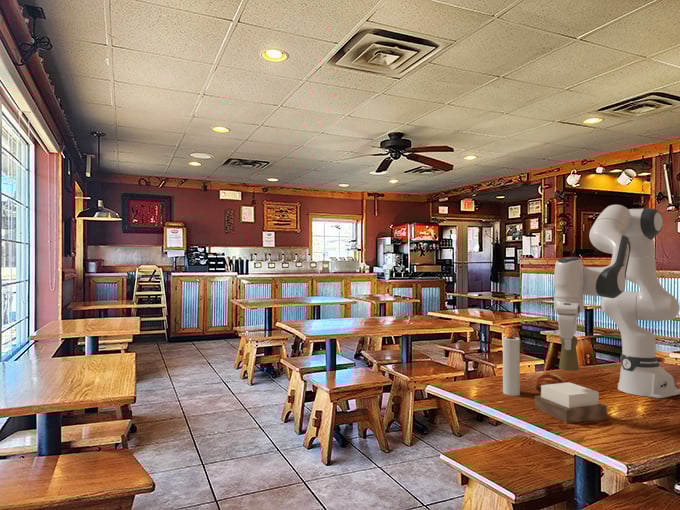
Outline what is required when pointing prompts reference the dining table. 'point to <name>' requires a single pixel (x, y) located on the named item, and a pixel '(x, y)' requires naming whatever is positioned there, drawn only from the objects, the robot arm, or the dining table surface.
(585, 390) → the tower top block
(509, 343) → the paper towel roll
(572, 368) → the olive green pawn
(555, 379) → the croissant
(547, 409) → the tower base block
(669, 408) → the dining table surface
